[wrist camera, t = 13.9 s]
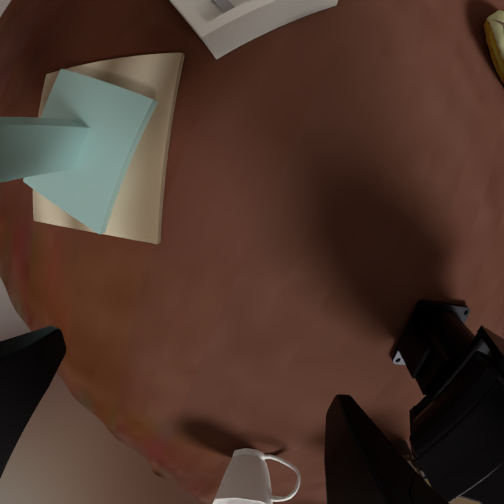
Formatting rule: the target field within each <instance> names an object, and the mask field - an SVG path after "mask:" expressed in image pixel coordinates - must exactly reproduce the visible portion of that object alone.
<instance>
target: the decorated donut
mask: <svg viewBox="0 0 504 504" xmlns="http://www.w3.org/2000/svg"><path fill="white" fill-rule="evenodd" d="M484 31H485V35H486V43H487V45H488V48H489V51H490V55H491V58H492V61H493V64H494V66H495V69H496V71H497V73H498V75H499V77H500V79H501V81H502V82H503V84H504V11H500V10H498V11H497V12H495V13H493V14H492V15H490V16H488V18H487V19H486V22H485V23H484Z"/></svg>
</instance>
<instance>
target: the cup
mask: <svg viewBox="0 0 504 504" xmlns="http://www.w3.org/2000/svg"><path fill="white" fill-rule="evenodd" d="M265 459H273V460H276V461H279V462H281V463H283V464H285V465H286V466H288V467H290V468H291V469H293V470H294V471H295V472H296V474H297V476H298V478H297V484H296V486H295V489H294V490H293V491H292V492H291V493H290V494H289V495H288V496H285V497H280V496H273V495H272V492H271V484H270V475H269V471H268V467H267V463H266V462H265V461H264V460H265ZM299 485H300V474H299V471H298V469H297V468H296V467H295V466H294V465H293V464H291V463H289V462H287V461H286V460H284V459H282V458H280V457H277V456H274V455H271V454H264V453H262V452H261V451H260V450H255V449H249V448H243V449H238V450H235V451H234V453H233V456H232V460H231V462H230V464H229V466H228V467H227V469H226V472H225V474H224V477H223V479H222V482H221V484H220V487H219V490H218V492H217V494H216V497H215V499H214V502H213V504H273V501H274V502H279V501H286V500H288V499H291V498H292V497H293V496H294V495H295V494H296V493H297V491H298V488H299Z"/></svg>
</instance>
